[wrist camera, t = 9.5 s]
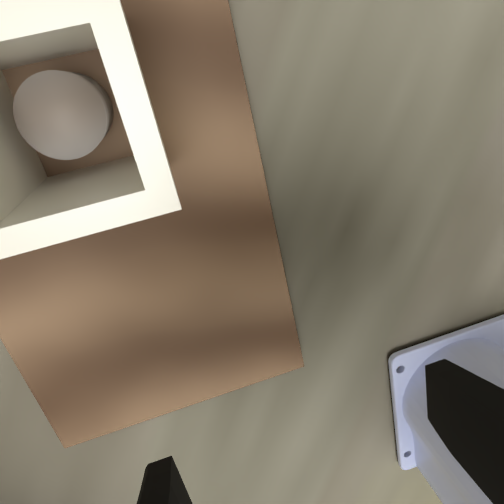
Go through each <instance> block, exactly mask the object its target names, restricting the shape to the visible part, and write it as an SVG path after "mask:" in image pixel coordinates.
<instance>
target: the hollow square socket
mask: <svg viewBox="0 0 504 504" xmlns="http://www.w3.org/2000/svg"><path fill="white" fill-rule="evenodd" d="M96 49H99V52H100V55H101V58H102V61H103V64H104V67H105V70H106V73H107V76H108V79H109V82H110V85H111V88H112V91H113V94H114V97H115V100H116V103H117V106H118V109H119V112H120V115H121V118H122V121H123V124H124V127H125V130H126V133H127V136H128V139H129V142H130V145H131V148H132V151H133V154H134V155H133V156H129V157H125V158H121V159H117V160H113V161H109V162H105V163H101V164H97V165H93V166H90V167H86V168H82V169H78V170H74V171H70V172H66V173H62V174H58V175H54V176H50V177H47V175H46V173H45V170H44V168H43V166H42V163H41V161H40V159H39V156H38V154H37V152H36V150H35V149H34V148H33V147H31V146H30V145H29V144H28V143H27V142H26V141H25V139H24V138H23V137H22V135H21V134H20V132H19V130H18V128H17V126H16V123H15V120H14V116H13V102H14V98H13V96H12V93H11V91H10V89H9V86H8V84H7V82H6V79H5V77H4V75H3V72H2V70H5V69H9V68H14V67H19V66H23V65H28V64H32V63H37V62H41V61H46V60H50V59H55V58H60V57H64V56H69V55H73V54H78V53H82V52H87V51H91V50H96ZM181 209H182V208H181V205H180V201H179V197H178V194H177V190H176V186H175V183H174V179H173V175H172V172H171V168H170V164H169V161H168V158H167V154H166V151H165V147H164V144H163V141H162V137H161V134H160V131H159V127H158V124H157V121H156V117H155V114H154V110H153V107H152V104H151V100H150V97H149V94H148V90H147V87H146V83H145V80H144V77H143V73H142V70H141V67H140V63H139V60H138V57H137V53H136V50H135V46H134V43H133V40H132V36H131V33H130V30H129V26H128V23H127V19H126V16H125V13H124V10H123V7H122V4H121V1H120V0H0V259H3V258H7V257H11V256H14V255H18V254H22V253H25V252H29V251H32V250H36V249H40V248H43V247H47V246H51V245H54V244H58V243H62V242H65V241H69V240H72V239H76V238H80V237H83V236H87V235H91V234H94V233H98V232H101V231H105V230H109V229H112V228H116V227H120V226H123V225H127V224H131V223H134V222H138V221H141V220H145V219H149V218H152V217H156V216H160V215H163V214H167V213H171V212H174V211H178V210H181Z"/></svg>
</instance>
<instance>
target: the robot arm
mask: <svg viewBox="0 0 504 504" xmlns="http://www.w3.org/2000/svg"><path fill="white" fill-rule="evenodd" d="M388 363H389V373H390V383H391V393H392V404H393V414H394V424H395V434H396V444H397V455H398V463H399V465H400V467H401V468H402V469H403V470H408V469H411V468H414V467H416V466H417V467H418V469H419V470H420V471H421V473H422V474H423V476H424V477H425V479H426V480H427V481H428V483H429V484H430V486H431V487H432V489H433V490H434V491H435V493H436V494H437V496H438V497H439V499H440V500H441V501H442V503H443V504H504V314H503V315H501V316H498V317H495V318H492V319H489V320H486V321H483V322H480V323H478V324H475V325H472V326H469V327H466V328H463V329H460V330H458V331H455V332H452V333H449V334H446V335H443V336H440V337H437V338H435V339H432V340H429V341H426V342H423V343H420V344H417V345H414V346H412V347H409V348H406V349H403V350H400V351H397V352H395V353H393V354H392V355H391V356H390V358H389V361H388ZM399 366H400V367H399ZM398 367H399V368H398ZM137 504H192V502H191V499H190V497H189V495H188V492H187V490H186V488H185V486H184V483H183V481H182V479H181V476H180V474H179V472H178V469H177V467H176V465H175V462H174V460H173V458H172V456H170V457H167V458H164V459H161V460H158V461H155V462H153V463H150V464H148V465H147V467H146V469H145V473H144V477H143V482H142V486H141V490H140V494H139V497H138V501H137Z"/></svg>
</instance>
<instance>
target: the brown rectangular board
mask: <svg viewBox="0 0 504 504" xmlns="http://www.w3.org/2000/svg"><path fill="white" fill-rule="evenodd" d="M120 1H121V4H122V7H123V10H124V13H125V16H126V19H127V23H128V26H129V30H130V33H131V36H132V40H133V43H134V46H135V50H136V53H137V57H138V60H139V63H140V67H141V70H142V73H143V77H144V80H145V83H146V87H147V90H148V94H149V97H150V100H151V104H152V107H153V110H154V114H155V117H156V121H157V124H158V127H159V131H160V134H161V137H162V141H163V144H164V147H165V151H166V154H167V158H168V161H169V164H170V168H171V172H172V175H173V179H174V183H175V186H176V190H177V194H178V197H179V201H180V205H181V208H182V209H181V210H178V211H174V212H171V213H167V214H163V215H160V216H156V217H152V218H149V219H145V220H141V221H138V222H134V223H131V224H127V225H123V226H120V227H116V228H112V229H109V230H105V231H101V232H98V233H94V234H91V235H87V236H83V237H80V238H76V239H72V240H69V241H65V242H62V243H58V244H54V245H51V246H47V247H43V248H40V249H36V250H32V251H29V252H25V253H22V254H18V255H14V256H11V257H7V258H3V259H0V338H1V340H2V342H3V344H4V345H5V347H6V349H7V350H8V352H9V354H10V356H11V357H12V359H13V361H14V362H15V364H16V366H17V368H18V369H19V371H20V373H21V374H22V376H23V378H24V380H25V381H26V383H27V385H28V386H29V388H30V390H31V392H32V393H33V395H34V397H35V398H36V400H37V402H38V404H39V405H40V407H41V409H42V410H43V412H44V414H45V416H46V417H47V419H48V421H49V422H50V424H51V426H52V428H53V429H54V431H55V433H56V434H57V436H58V438H59V440H60V441H61V443H62V445H63V446H64V448H68V447H71V446H73V445H76V444H79V443H82V442H85V441H88V440H91V439H94V438H97V437H100V436H103V435H106V434H108V433H111V432H114V431H117V430H120V429H123V428H126V427H129V426H132V425H135V424H138V423H141V422H143V421H146V420H149V419H152V418H155V417H158V416H161V415H164V414H167V413H170V412H173V411H176V410H178V409H181V408H184V407H187V406H190V405H193V404H196V403H199V402H202V401H205V400H208V399H211V398H214V397H216V396H219V395H222V394H225V393H228V392H231V391H234V390H237V389H240V388H243V387H246V386H249V385H251V384H254V383H257V382H260V381H263V380H266V379H269V378H272V377H275V376H278V375H281V374H284V373H286V372H289V371H292V370H295V369H298V368H301V367H304V363H303V358H302V353H301V348H300V343H299V339H298V334H297V329H296V324H295V319H294V315H293V310H292V305H291V300H290V295H289V291H288V286H287V281H286V276H285V271H284V267H283V262H282V257H281V252H280V247H279V243H278V238H277V233H276V228H275V223H274V219H273V214H272V209H271V204H270V199H269V195H268V190H267V185H266V180H265V175H264V170H263V166H262V161H261V156H260V151H259V146H258V142H257V137H256V132H255V127H254V122H253V118H252V113H251V108H250V103H249V98H248V94H247V89H246V84H245V79H244V74H243V70H242V65H241V60H240V55H239V50H238V46H237V41H236V36H235V31H234V26H233V22H232V17H231V12H230V7H229V2H228V0H120ZM2 72H3V75H4V77H5V79H6V82H7V84H8V86H9V89H10V91H11V93H12V96H13V98H14V102H13V116H14V120H15V123H16V126H17V128H18V130H19V132H20V134H21V135H22V137H23V138H24V139H25V141H26V142H27V143H28V144H29V145H30V146H31V147H33V148H34V149H35V150H36V152H37V154H38V156H39V159H40V161H41V163H42V166H43V168H44V170H45V173H46V175H47V177H50V176H54V175H58V174H62V173H66V172H70V171H74V170H78V169H82V168H86V167H90V166H93V165H97V164H101V163H105V162H109V161H113V160H117V159H121V158H125V157H129V156H133V155H134V154H133V151H132V148H131V145H130V142H129V139H128V136H127V133H126V130H125V127H124V124H123V121H122V118H121V115H120V112H119V109H118V106H117V103H116V100H115V97H114V94H113V91H112V88H111V85H110V82H109V79H108V76H107V73H106V70H105V67H104V64H103V61H102V58H101V55H100V52H99V49H96V50H91V51H87V52H82V53H78V54H73V55H69V56H64V57H60V58H55V59H50V60H46V61H41V62H37V63H32V64H28V65H23V66H19V67H14V68H9V69H5V70H2Z"/></svg>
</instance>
